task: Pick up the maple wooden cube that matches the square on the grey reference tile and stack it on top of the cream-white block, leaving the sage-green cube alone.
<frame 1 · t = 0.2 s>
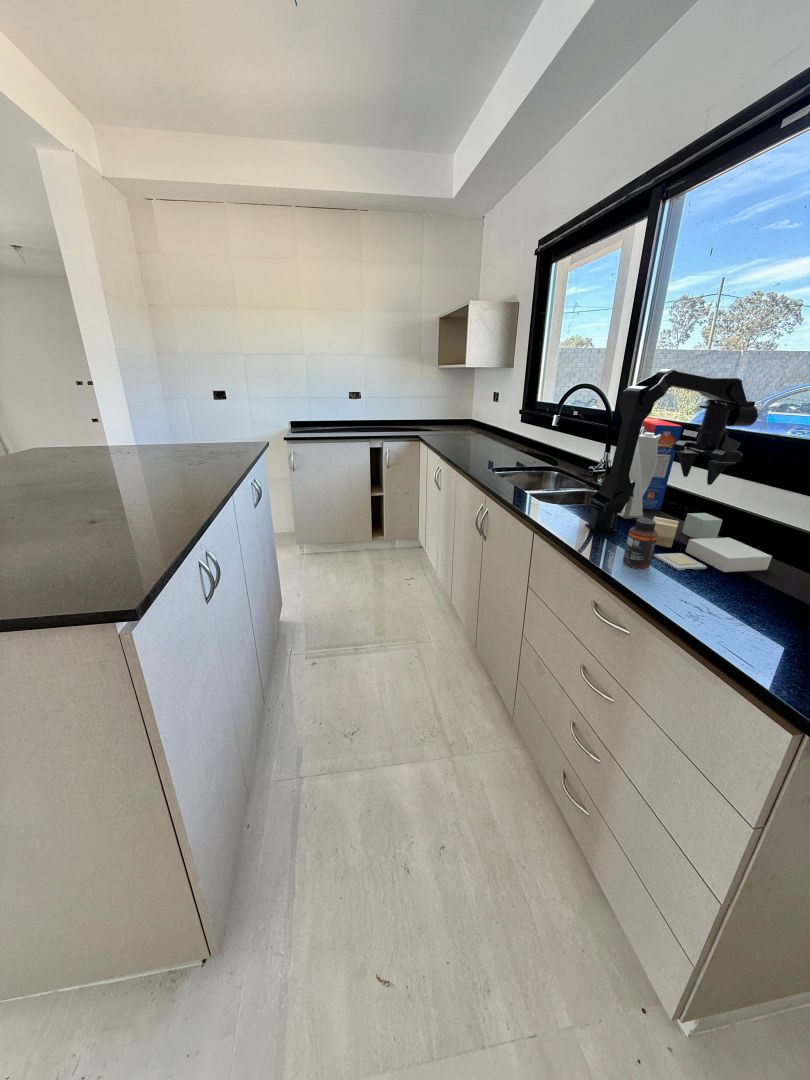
hand: (697, 480, 125), 14 cm above the counter, tool pointing down, fingers open, 9 cm apart
reference tile: (679, 562, 106), on the counter
cream block: (724, 561, 108), on the counter
maple cube: (659, 542, 118), on the counter
sage cube: (698, 536, 124), on the counter
red and blue box: (633, 498, 159), on the counter
skyscraper: (628, 515, 141), on the counter
supplement bottle: (635, 565, 104), on the counter
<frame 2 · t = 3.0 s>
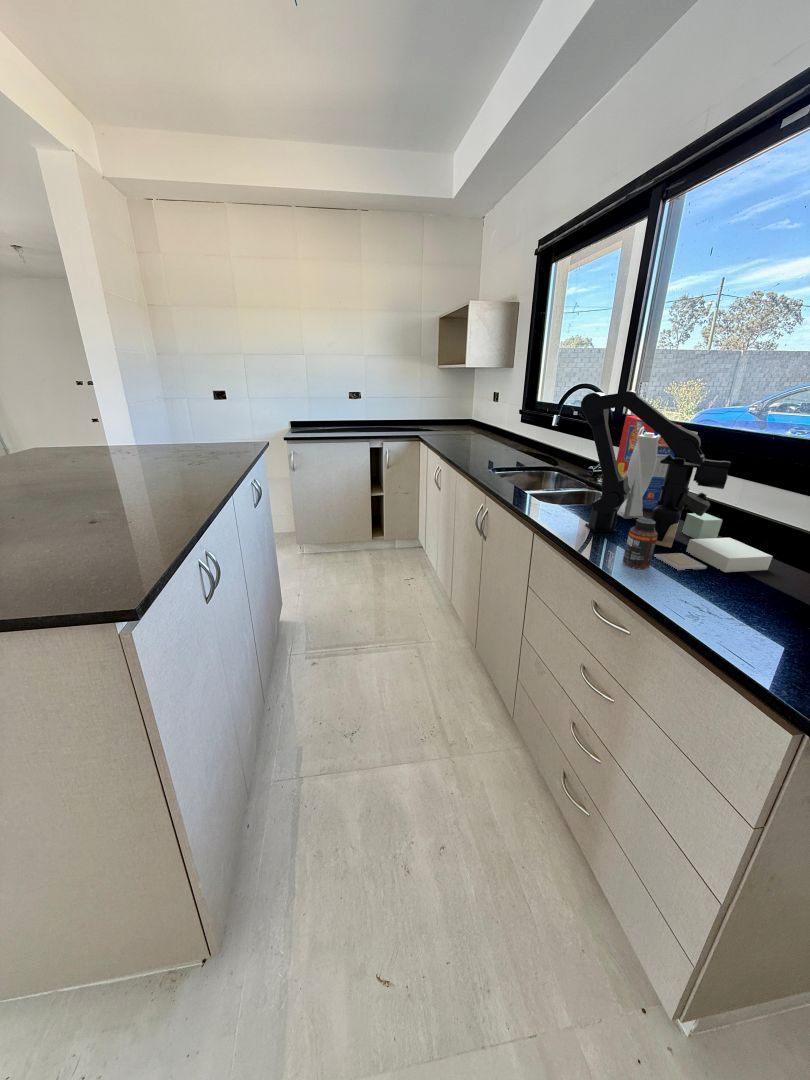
hand: (661, 537, 118), 1 cm above the counter, tool pointing down, fingers closed on maple cube, 6 cm apart
maple cube: (659, 541, 118), on the counter, touching gripper
everything else where it was.
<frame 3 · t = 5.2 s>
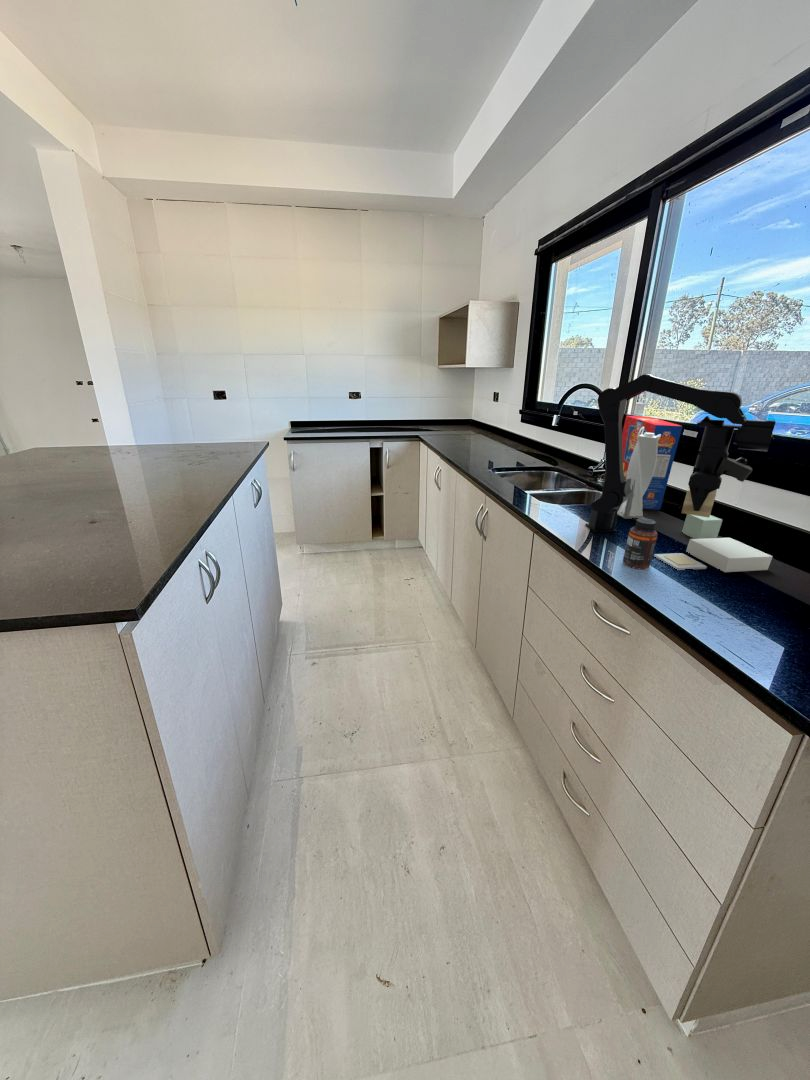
hand: (697, 507, 110), 11 cm above the counter, tool pointing down, fingers closed on maple cube, 6 cm apart
maple cube: (695, 512, 110), point 10 cm above the counter, touching gripper
everything else where it was.
when the fingers open (7 cm above the counter, at t = 7.8 s): maple cube drops 2 cm, resting on cream block.
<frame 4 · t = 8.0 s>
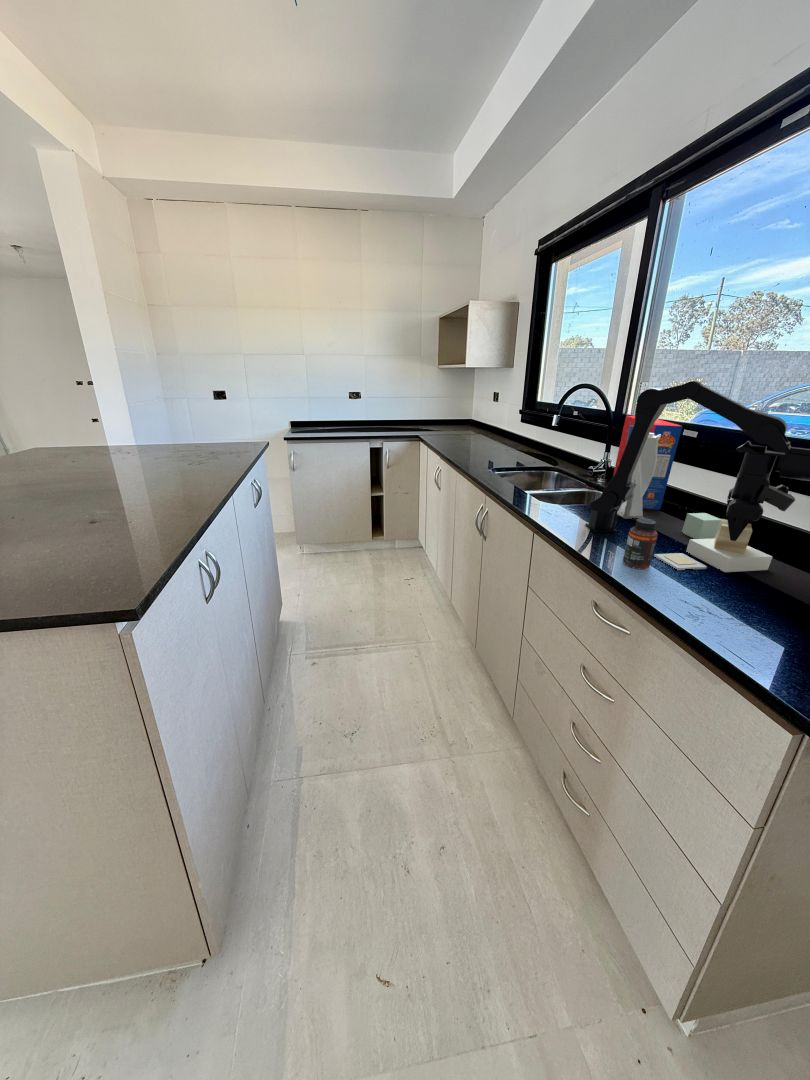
hand: (732, 535, 105), 7 cm above the counter, tool pointing down, fingers open, 8 cm apart
cream block: (724, 562, 108), on the counter, touching maple cube
maple cube: (728, 547, 107), point 4 cm above the counter, touching cream block
everything else where it was.
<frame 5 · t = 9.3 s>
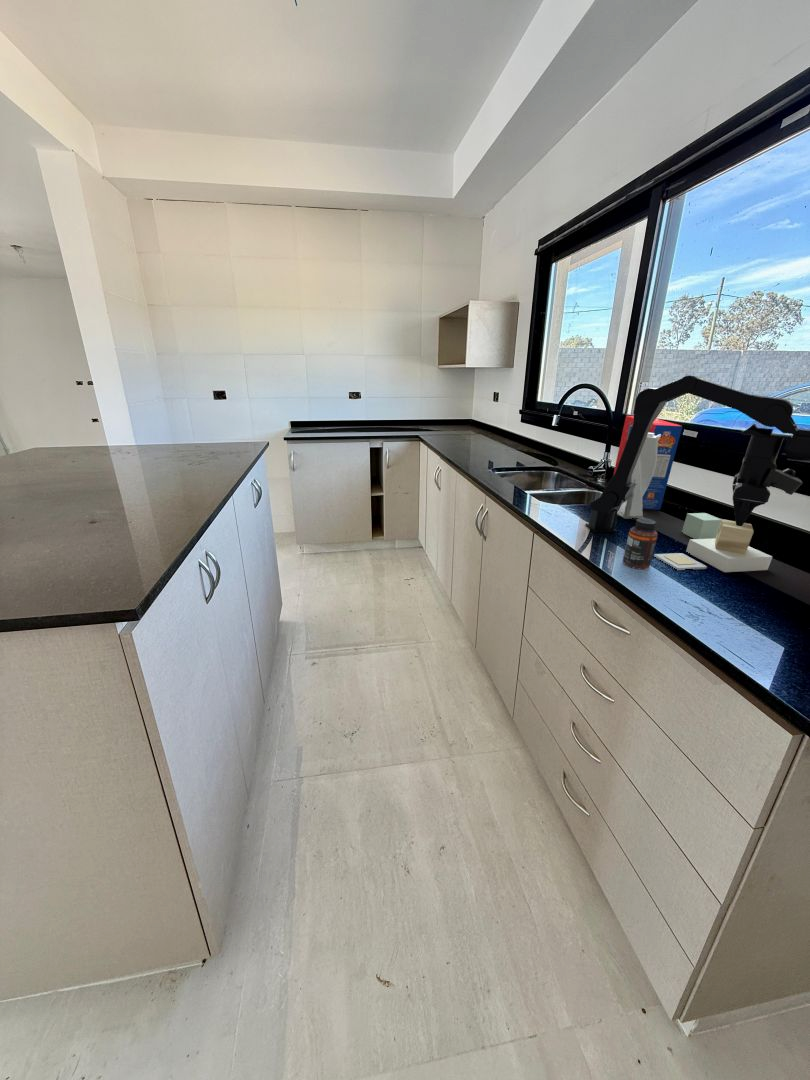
hand: (738, 520, 104), 11 cm above the counter, tool pointing down, fingers open, 9 cm apart
cream block: (724, 562, 108), on the counter
maple cube: (729, 547, 106), point 3 cm above the counter
everything else where it was.
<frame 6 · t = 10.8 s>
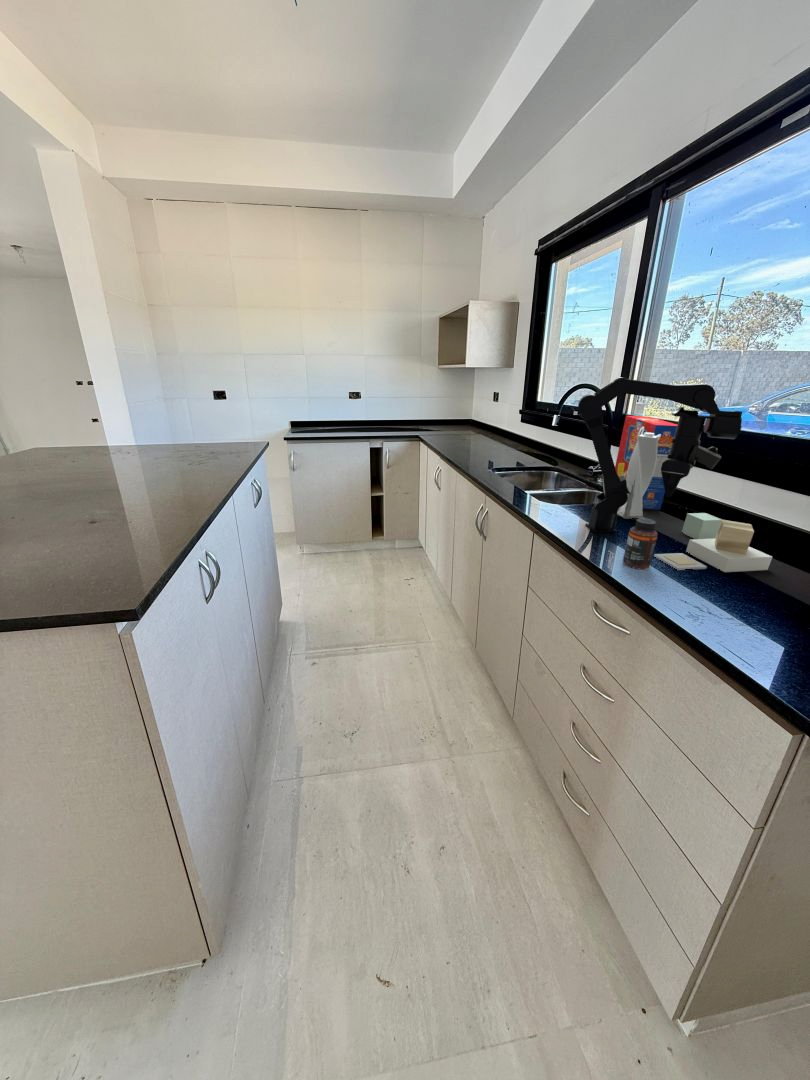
hand: (670, 493, 117), 13 cm above the counter, tool pointing down, fingers open, 9 cm apart
nothing on the counter moved.
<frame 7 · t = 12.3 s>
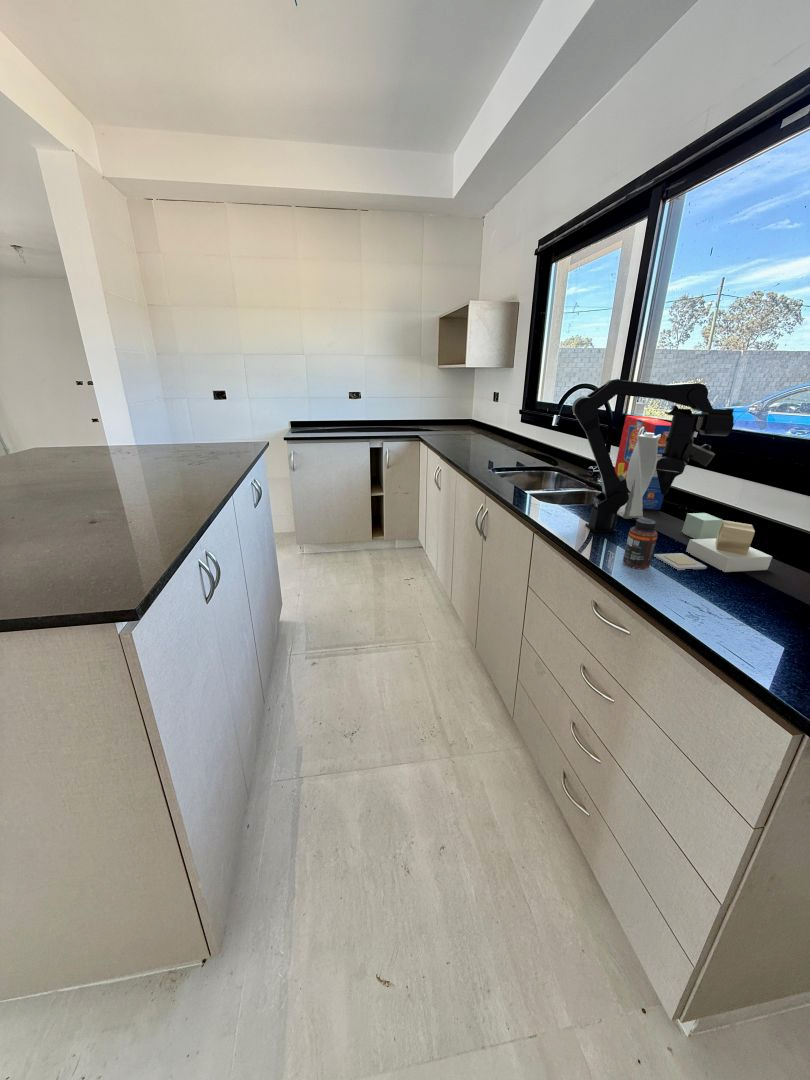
hand: (665, 491, 118), 13 cm above the counter, tool pointing down, fingers open, 9 cm apart
nothing on the counter moved.
at the end: maple cube 0.6 cm off-centre on the cream block, point 4.0 cm above the cream block's base; maple cube tilted 0°; the gripper is holding nothing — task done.
